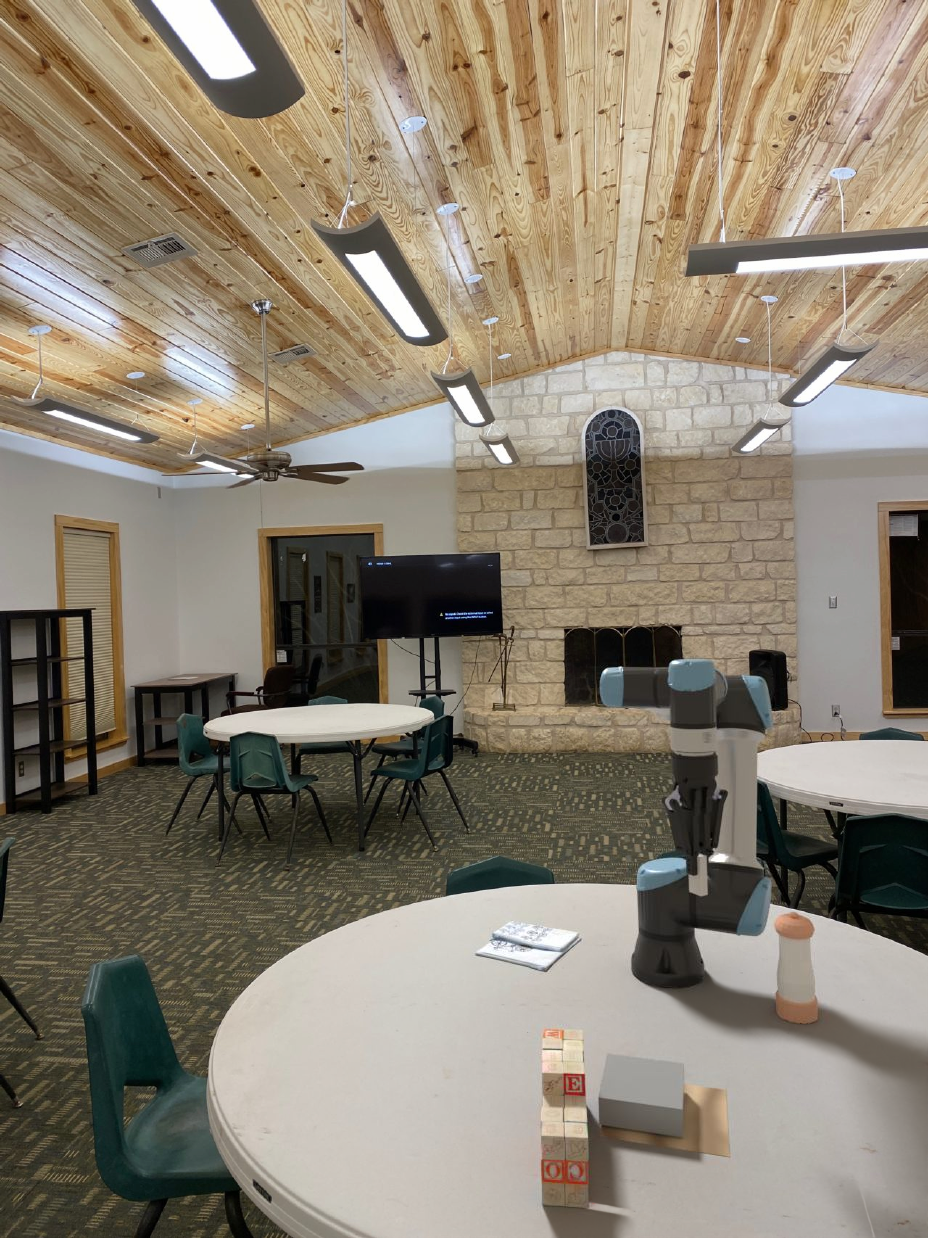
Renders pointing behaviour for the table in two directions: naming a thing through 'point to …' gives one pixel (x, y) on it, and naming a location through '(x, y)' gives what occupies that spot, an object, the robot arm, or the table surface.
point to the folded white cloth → (543, 939)
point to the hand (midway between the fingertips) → (698, 893)
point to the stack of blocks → (564, 1120)
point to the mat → (689, 1125)
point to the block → (642, 1095)
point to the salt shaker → (795, 970)
